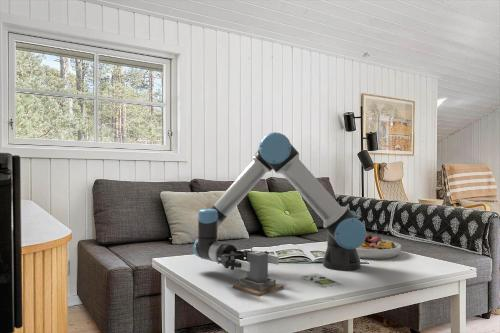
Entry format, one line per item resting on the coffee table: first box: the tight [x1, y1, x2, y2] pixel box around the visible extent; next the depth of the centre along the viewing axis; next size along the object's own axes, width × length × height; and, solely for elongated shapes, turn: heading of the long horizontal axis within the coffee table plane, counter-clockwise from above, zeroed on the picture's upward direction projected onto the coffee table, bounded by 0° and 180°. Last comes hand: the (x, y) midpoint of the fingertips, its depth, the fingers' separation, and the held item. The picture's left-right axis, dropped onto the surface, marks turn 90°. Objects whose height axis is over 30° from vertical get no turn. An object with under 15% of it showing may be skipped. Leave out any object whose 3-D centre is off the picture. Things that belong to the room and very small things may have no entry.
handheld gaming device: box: [299, 273, 342, 288], centre depth 146 cm, size 9×1×15 cm
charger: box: [246, 250, 269, 283], centre depth 136 cm, size 4×6×11 cm
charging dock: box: [232, 276, 283, 297], centre depth 136 cm, size 12×12×3 cm
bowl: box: [356, 232, 402, 260], centre depth 193 cm, size 30×30×8 cm
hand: (264, 263), depth 134 cm, fingers open, 13 cm apart
